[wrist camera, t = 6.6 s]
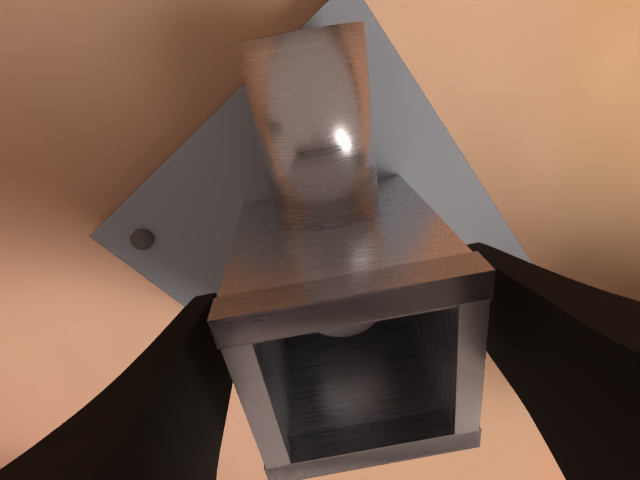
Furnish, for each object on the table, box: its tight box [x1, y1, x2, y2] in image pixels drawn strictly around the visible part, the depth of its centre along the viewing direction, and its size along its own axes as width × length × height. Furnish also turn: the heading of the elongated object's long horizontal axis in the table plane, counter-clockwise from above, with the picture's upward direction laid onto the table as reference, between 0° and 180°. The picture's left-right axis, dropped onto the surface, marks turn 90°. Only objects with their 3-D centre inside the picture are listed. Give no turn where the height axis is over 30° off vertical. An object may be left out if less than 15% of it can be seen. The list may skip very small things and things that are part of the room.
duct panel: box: [90, 0, 533, 337], centre depth 12 cm, size 11×12×4 cm
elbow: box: [207, 21, 496, 480], centre depth 9 cm, size 10×5×6 cm, turn 9°
